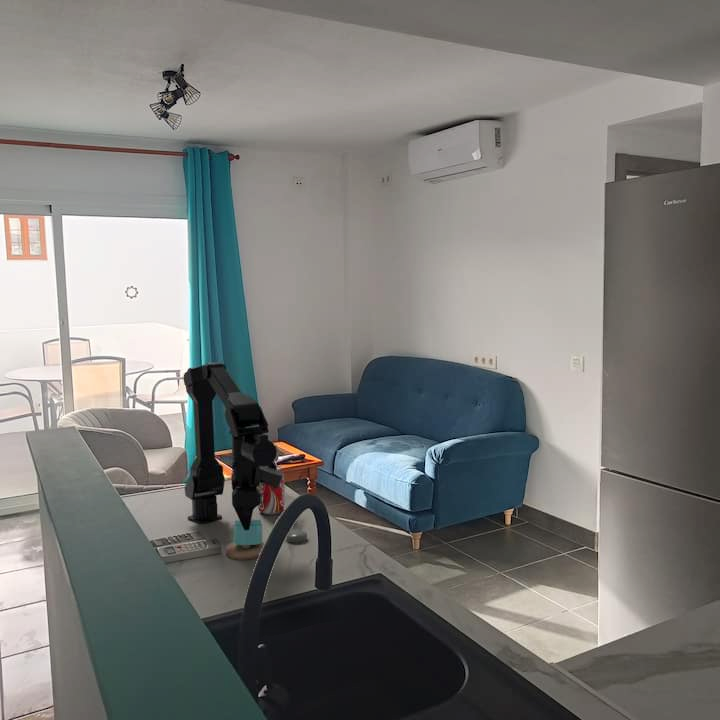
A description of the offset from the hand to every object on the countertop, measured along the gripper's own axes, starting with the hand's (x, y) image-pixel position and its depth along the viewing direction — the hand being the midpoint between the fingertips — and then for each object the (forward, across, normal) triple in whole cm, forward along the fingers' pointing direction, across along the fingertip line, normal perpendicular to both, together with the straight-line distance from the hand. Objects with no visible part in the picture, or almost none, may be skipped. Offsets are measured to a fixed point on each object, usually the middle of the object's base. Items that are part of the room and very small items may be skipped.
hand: (246, 522), depth 165 cm
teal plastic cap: (+4, -2, 0) cm, 5 cm away
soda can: (+6, +25, -7) cm, 27 cm away
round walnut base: (+6, -2, 0) cm, 6 cm away
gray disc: (+6, +3, -12) cm, 14 cm away
